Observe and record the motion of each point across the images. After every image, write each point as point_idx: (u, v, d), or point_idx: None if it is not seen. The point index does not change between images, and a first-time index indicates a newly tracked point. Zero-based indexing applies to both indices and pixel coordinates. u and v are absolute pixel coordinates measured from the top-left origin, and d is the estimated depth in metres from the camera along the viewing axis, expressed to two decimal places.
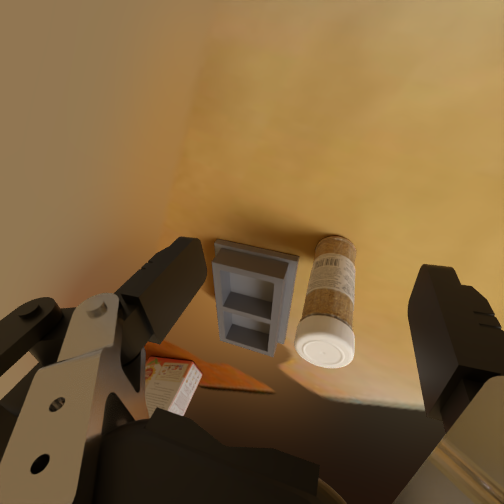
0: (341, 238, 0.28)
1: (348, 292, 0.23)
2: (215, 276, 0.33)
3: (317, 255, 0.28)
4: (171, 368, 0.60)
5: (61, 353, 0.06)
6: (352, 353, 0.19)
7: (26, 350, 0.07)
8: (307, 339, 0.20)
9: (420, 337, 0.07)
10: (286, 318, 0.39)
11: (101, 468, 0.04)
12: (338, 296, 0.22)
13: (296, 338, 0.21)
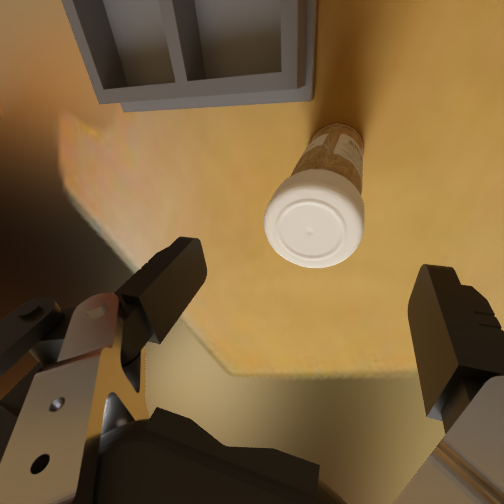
0: (362, 156, 0.21)
1: None
2: None
3: (347, 134, 0.19)
4: None
5: (60, 353, 0.06)
6: (325, 266, 0.13)
7: (26, 350, 0.07)
8: (339, 206, 0.11)
9: (420, 337, 0.07)
10: (182, 105, 0.23)
11: (101, 468, 0.04)
12: None
13: (326, 184, 0.11)
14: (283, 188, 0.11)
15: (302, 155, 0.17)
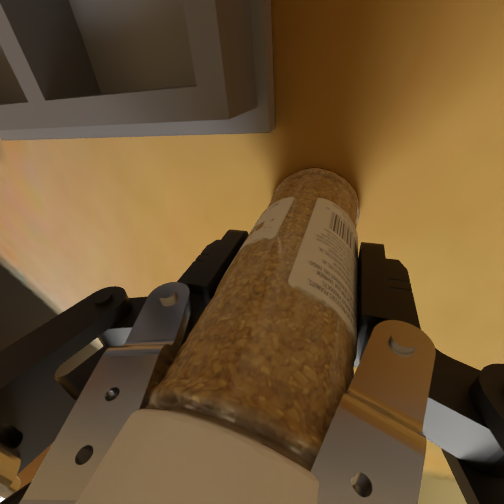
0: (357, 220, 0.13)
1: None
2: None
3: (330, 196, 0.10)
4: None
5: (130, 334, 0.06)
6: None
7: (91, 339, 0.07)
8: None
9: None
10: (77, 133, 0.15)
11: None
12: None
13: None
14: None
15: (240, 248, 0.09)
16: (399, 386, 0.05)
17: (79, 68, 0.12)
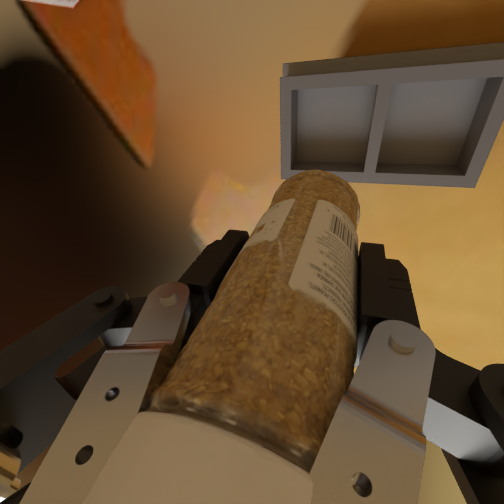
0: (358, 221, 0.13)
1: None
2: (484, 65, 0.18)
3: (331, 198, 0.10)
4: None
5: (130, 335, 0.06)
6: None
7: (92, 339, 0.07)
8: None
9: None
10: None
11: None
12: None
13: None
14: None
15: (241, 250, 0.09)
16: (399, 386, 0.05)
17: None
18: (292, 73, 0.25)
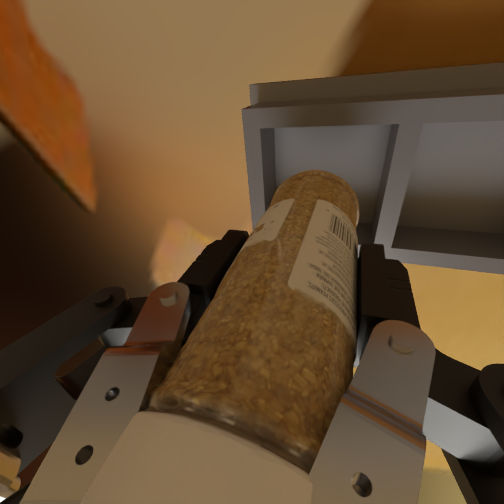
0: (357, 221, 0.13)
1: None
2: None
3: (330, 198, 0.10)
4: None
5: (130, 334, 0.06)
6: None
7: (91, 339, 0.07)
8: None
9: None
10: None
11: None
12: None
13: None
14: None
15: (240, 250, 0.09)
16: (399, 386, 0.05)
17: None
18: (264, 99, 0.17)
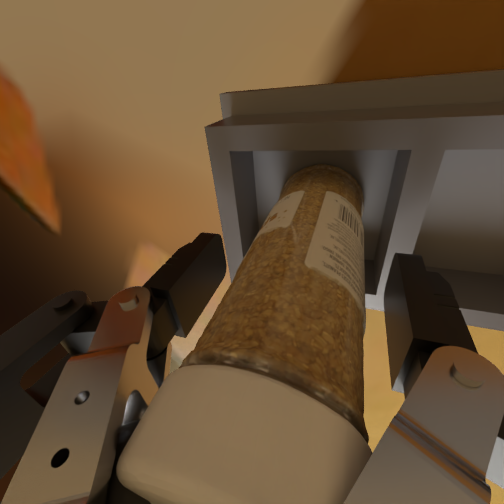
0: (362, 213, 0.14)
1: None
2: None
3: (338, 190, 0.11)
4: None
5: (92, 342, 0.06)
6: None
7: (56, 343, 0.07)
8: None
9: (390, 320, 0.08)
10: None
11: None
12: None
13: None
14: (137, 456, 0.04)
15: (256, 237, 0.09)
16: (460, 423, 0.04)
17: None
18: (239, 111, 0.13)
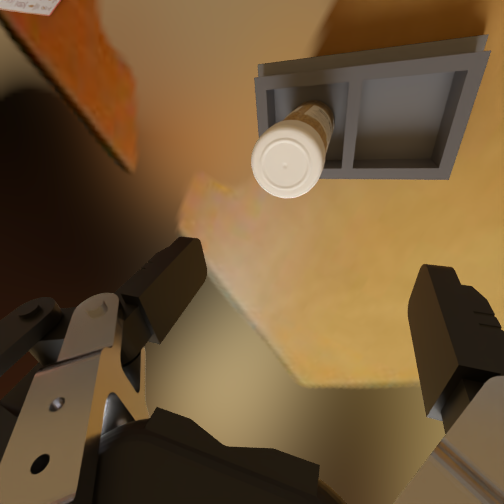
0: (333, 127, 0.25)
1: None
2: (448, 60, 0.19)
3: (319, 107, 0.23)
4: None
5: (61, 353, 0.06)
6: (298, 195, 0.17)
7: (26, 350, 0.07)
8: (304, 141, 0.15)
9: (420, 337, 0.07)
10: None
11: (101, 468, 0.04)
12: None
13: (294, 126, 0.15)
14: (264, 132, 0.16)
15: None
16: None
17: None
18: (267, 74, 0.25)
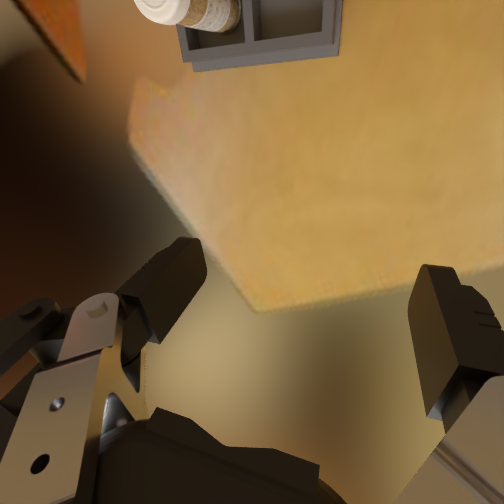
0: (240, 7, 0.28)
1: (208, 12, 0.24)
2: None
3: None
4: None
5: (61, 353, 0.06)
6: (169, 16, 0.20)
7: (26, 350, 0.07)
8: None
9: (420, 337, 0.07)
10: (241, 64, 0.32)
11: (101, 468, 0.04)
12: None
13: None
14: None
15: None
16: None
17: (259, 30, 0.29)
18: None
